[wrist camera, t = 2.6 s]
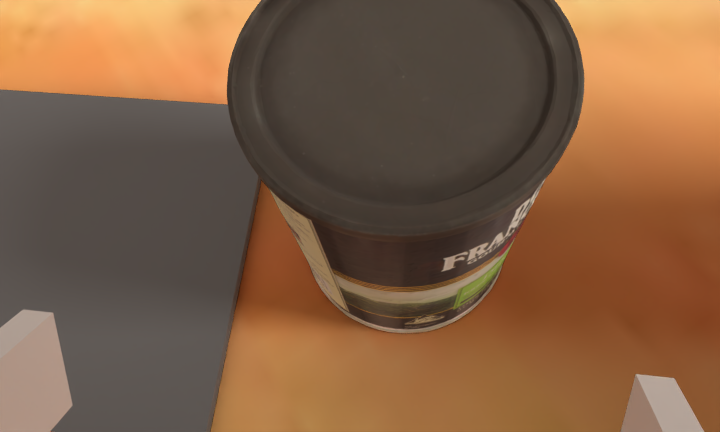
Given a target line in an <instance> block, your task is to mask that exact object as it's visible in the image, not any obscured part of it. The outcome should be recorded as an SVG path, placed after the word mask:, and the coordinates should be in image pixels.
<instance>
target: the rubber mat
mask: <svg viewBox="0 0 720 432" xmlns="http://www.w3.org/2000/svg"><path fill="white" fill-rule="evenodd" d="M260 184H261V178H260V177H259V176H258V175H257V173H256V172H255V171H254V169H253V168H252V166H251V165H250V163H249V162H248V160H247V158H246V157H245V155H244V153H243V151H242V149H241V147H240V145H239V143H238V141H237V138H236V136H235V133H234V129H233V126H232V123H231V120H230V115H229V109H228V105H225V104H210V103H195V102H180V101H164V100H149V99H134V98H119V97H104V96H89V95H73V94H58V93H43V92H28V91H13V90H0V328H1V327H2V326H3V325H4V324H6V323H7V322H8V321H9V320H11V319H12V318H13V317H14V316H16V315H17V314H18V313H19V312H21V311H22V310H33V311H42V312H52V313H53V314H54V319H55V324H56V328H57V333H58V338H59V343H60V347H61V352H62V357H63V362H64V366H65V371H66V376H67V381H68V385H69V390H70V395H71V399H72V404H73V405H72V407H71V408H70V409H69V410H68V411H67V412H66V414H65V415H64V416H63V417H62V418H61V419H60V421H59V422H58V423H57V424H56V425H55V426H54V428H53V429H52V430H51V432H210V430H211V425H212V420H213V415H214V410H215V405H216V400H217V395H218V391H219V386H220V381H221V376H222V371H223V366H224V361H225V356H226V351H227V346H228V341H229V336H230V332H231V327H232V322H233V317H234V312H235V307H236V302H237V297H238V292H239V287H240V282H241V277H242V273H243V268H244V263H245V258H246V253H247V248H248V243H249V238H250V233H251V228H252V223H253V218H254V214H255V209H256V204H257V199H258V194H259V189H260Z"/></svg>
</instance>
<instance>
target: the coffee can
mask: <svg viewBox="0 0 720 432" xmlns="http://www.w3.org/2000/svg"><path fill="white" fill-rule="evenodd" d="M583 95H584V70H583V63H582V57H581V52H580V48H579V44H578V40H577V38H576V36H575V34H574V31H573V29H572V27H571V25H570V23H569V21H568V19H567V18H566V16H565V15H564V13H563V12H562V10H561V8H560V7H559V6H558V4H557V3H556V2H555V0H261V2H260V3H259V4H258V5H257V7H256V8H255V10H254V11H253V12H252V13H251V15H250V16H249V18H248V20H247V21H246V23H245V25H244V27H243V28H242V30H241V32H240V34H239V37H238V39H237V42H236V44H235V47H234V50H233V52H232V56H231V60H230V64H229V68H228V81H227V100H228V109H229V115H230V120H231V123H232V126H233V129H234V133H235V136H236V138H237V141H238V143H239V145H240V147H241V149H242V151H243V153H244V155H245V157H246V158H247V160H248V162H249V163H250V165H251V166H252V168H253V169H254V171H255V172H256V173H257V175H258V176H259V177H260V178H261V180H262V181H263V182H264V184H265V185H266V186H267V187H268V188H269V190H270V192H271V194H272V195H273V197H274V199H275V202H276V204H277V206H278V208H279V209H280V211H281V213H282V215H283V216H284V218H285V220H286V222H287V224H288V225H289V227H290V229H291V231H292V233H293V235H294V236H295V238H296V240H297V242H298V244H299V246H300V248H301V250H302V252H303V254H304V255H305V257H306V259H307V261H308V263H309V265H310V268H311V270H312V273H313V275H314V278H315V280H316V282H317V283H318V285H319V287H320V288H321V290H322V291H323V292H324V294H325V295H326V296H327V297H328V299H329V300H330V301H331V302H332V303H333V304H334V305H335V306H336V307H337V308H338V309H339V310H341V311H342V312H343V313H344V314H346V315H347V316H348V317H350V318H352V319H353V320H356V321H358V322H360V323H362V324H364V325H366V326H369V327H371V328H375V329H378V330H382V331H386V332H393V333H419V332H427V331H431V330H435V329H438V328H441V327H444V326H446V325H449V324H451V323H453V322H455V321H457V320H458V319H460V318H461V317H463V316H465V315H466V314H468V313H469V312H470V311H471V310H473V309H474V308H475V307H476V306H477V305H478V304H479V303H480V302H481V301H482V300H483V299H484V297H485V296H486V295H487V294H488V293H489V292H490V290H491V289H492V287H493V285H494V283H495V282H496V280H497V278H498V276H499V273H500V271H501V268H502V265H503V262H504V260H505V258H506V256H507V254H508V252H509V250H510V248H511V246H512V244H513V242H514V240H515V238H516V235H517V234H518V232H519V230H520V228H521V226H522V225H523V222H524V220H525V218H526V216H527V214H528V212H529V210H530V208H531V206H532V204H533V203H534V201H535V199H536V197H537V195H538V192H539V190H540V188H541V187H542V185H543V183H544V181H545V179H546V177H547V176H548V175H549V174H550V173H551V171H552V170H553V168H554V167H555V165H556V164H557V163H558V161H559V160H560V158H561V156H562V155H563V153H564V151H565V149H566V148H567V146H568V144H569V142H570V140H571V137H572V135H573V133H574V131H575V129H576V127H577V124H578V120H579V116H580V113H581V107H582V102H583Z"/></svg>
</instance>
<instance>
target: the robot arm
mask: <svg viewBox="0 0 720 432" xmlns="http://www.w3.org/2000/svg"><path fill="white" fill-rule="evenodd" d="M72 405H73V404H72V399H71V395H70V390H69V385H68V381H67V376H66V371H65V366H64V362H63V357H62V352H61V347H60V343H59V338H58V333H57V328H56V324H55V319H54V314H53V313H52V312H42V311H33V310H22V311H21V312H19V313H18V314H17V315H16V316H14V317H13V318H12V319H11V320H9V321H8V322H7V323H6V324H4V325H3V326H2V327H1V328H0V432H50V431H51V430H52V429H53V428H54V426H55V425H56V424H57V423H58V422H59V421H60V419H61V418H62V417H63V416H64V415H65V414H66V412H67V411H68V410H69V409H70V408H71V407H72ZM621 432H704V430H703V429H702V427H701V425H700V423H699V421H698V420H697V418H696V416H695V414H694V413H693V411H692V409H691V407H690V405H689V404H688V402H687V400H686V398H685V396H684V395H683V393H682V391H681V389H680V388H679V386H678V384H677V382H676V380H675V379H674V378H669V377H659V376H650V375H640V374H636V375H635V379H634V383H633V387H632V390H631V394H630V398H629V402H628V405H627V409H626V413H625V417H624V420H623V424H622V428H621Z"/></svg>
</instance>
